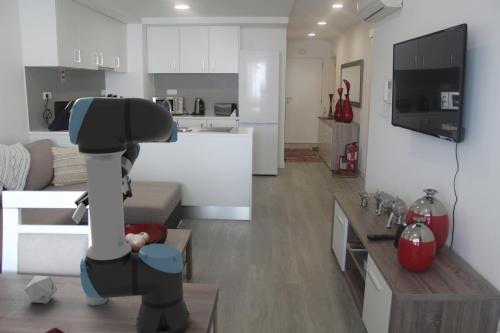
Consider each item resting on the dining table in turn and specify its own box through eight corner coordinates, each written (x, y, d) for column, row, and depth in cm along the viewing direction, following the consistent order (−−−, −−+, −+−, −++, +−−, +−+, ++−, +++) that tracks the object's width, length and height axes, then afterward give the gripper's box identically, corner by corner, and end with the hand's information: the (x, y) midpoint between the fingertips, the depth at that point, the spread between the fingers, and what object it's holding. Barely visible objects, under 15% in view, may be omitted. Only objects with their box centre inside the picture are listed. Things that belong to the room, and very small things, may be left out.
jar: (113, 298, 135) (110, 263, 132) (95, 308, 129) (92, 272, 126) (99, 292, 138) (96, 258, 136) (81, 301, 133) (78, 266, 130)
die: (33, 313, 127) (52, 286, 127) (13, 295, 129) (32, 269, 129) (49, 308, 135) (67, 283, 136) (30, 292, 137) (48, 267, 137)
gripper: (154, 173, 142) (135, 218, 126) (92, 186, 149) (67, 231, 133) (143, 156, 138) (122, 200, 121) (80, 171, 145) (52, 215, 128)
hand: (93, 216), depth 127 cm, fingers open, 13 cm apart
